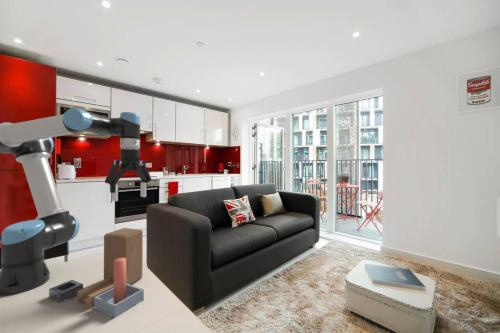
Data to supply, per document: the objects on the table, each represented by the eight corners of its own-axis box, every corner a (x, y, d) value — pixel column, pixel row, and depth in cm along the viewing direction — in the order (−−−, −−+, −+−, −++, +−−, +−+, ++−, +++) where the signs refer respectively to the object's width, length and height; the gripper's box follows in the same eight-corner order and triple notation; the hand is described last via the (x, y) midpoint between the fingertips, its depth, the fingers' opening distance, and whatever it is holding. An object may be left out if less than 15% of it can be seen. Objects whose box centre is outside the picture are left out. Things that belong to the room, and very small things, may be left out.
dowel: (111, 303, 74) (111, 260, 74) (121, 297, 77) (121, 257, 77) (118, 306, 73) (118, 262, 73) (128, 300, 76) (128, 258, 76)
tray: (94, 308, 72) (94, 297, 72) (123, 292, 82) (123, 282, 82) (115, 317, 68) (115, 305, 68) (143, 299, 77) (143, 289, 77)
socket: (49, 297, 78) (49, 288, 78) (71, 287, 85) (71, 279, 85) (60, 302, 75) (60, 293, 75) (83, 292, 82) (83, 283, 82)
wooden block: (123, 290, 83) (124, 236, 83) (102, 286, 86) (102, 233, 86) (143, 277, 93) (143, 229, 93) (123, 274, 95) (123, 227, 95)
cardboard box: (77, 302, 76) (77, 290, 76) (107, 288, 85) (107, 277, 85) (91, 309, 73) (91, 296, 73) (121, 293, 82) (121, 282, 82)
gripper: (107, 146, 84) (106, 203, 84) (159, 150, 107) (159, 195, 107) (94, 147, 87) (94, 202, 87) (148, 151, 110) (147, 194, 110)
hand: (129, 198), depth 97 cm, fingers open, 13 cm apart
